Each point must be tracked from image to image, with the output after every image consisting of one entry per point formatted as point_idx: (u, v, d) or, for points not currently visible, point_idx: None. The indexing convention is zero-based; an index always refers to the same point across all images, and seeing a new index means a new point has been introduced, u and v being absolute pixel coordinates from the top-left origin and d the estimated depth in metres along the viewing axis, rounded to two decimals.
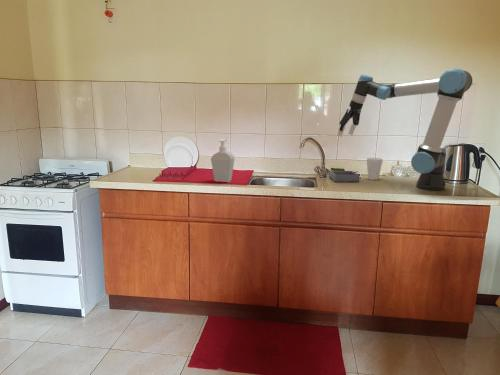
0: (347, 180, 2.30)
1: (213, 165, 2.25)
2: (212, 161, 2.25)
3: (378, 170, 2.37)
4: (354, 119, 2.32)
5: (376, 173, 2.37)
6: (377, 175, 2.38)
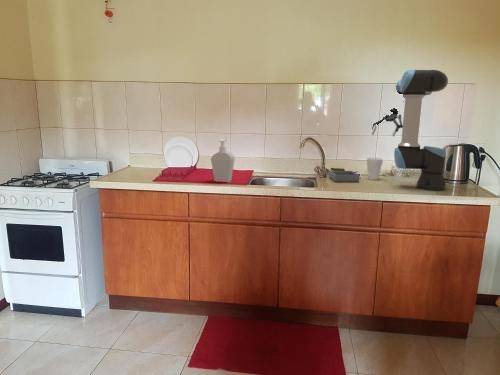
0: (347, 180, 2.30)
1: (213, 165, 2.25)
2: (212, 161, 2.25)
3: (378, 170, 2.37)
4: (394, 122, 2.43)
5: (376, 173, 2.37)
6: (377, 175, 2.38)
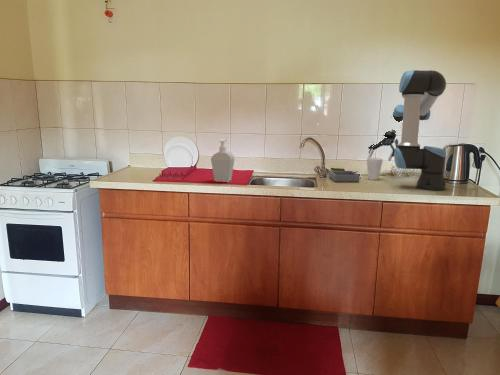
0: (347, 180, 2.30)
1: (213, 165, 2.25)
2: (212, 161, 2.25)
3: (378, 170, 2.37)
4: (391, 147, 2.45)
5: (376, 173, 2.37)
6: (377, 175, 2.38)
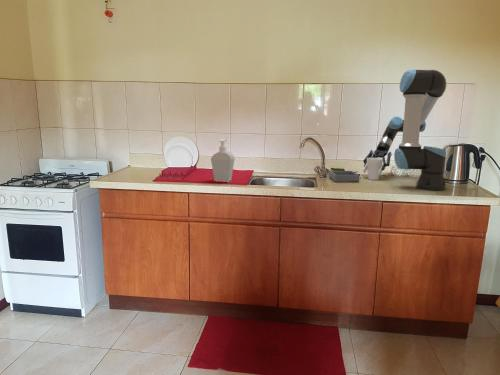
0: (347, 180, 2.30)
1: (213, 165, 2.25)
2: (212, 161, 2.25)
3: (378, 170, 2.37)
4: None
5: (376, 173, 2.37)
6: (377, 175, 2.38)
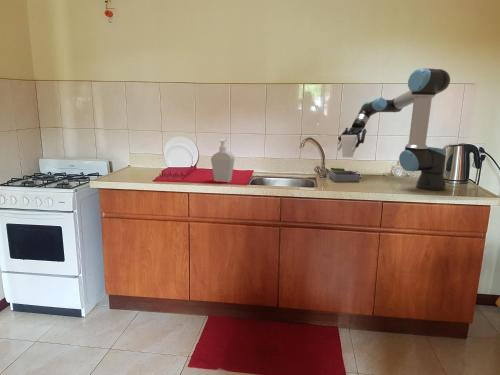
0: (347, 180, 2.30)
1: (213, 165, 2.25)
2: (212, 161, 2.25)
3: (352, 147, 2.31)
4: (357, 137, 2.34)
5: (350, 150, 2.32)
6: (351, 152, 2.32)
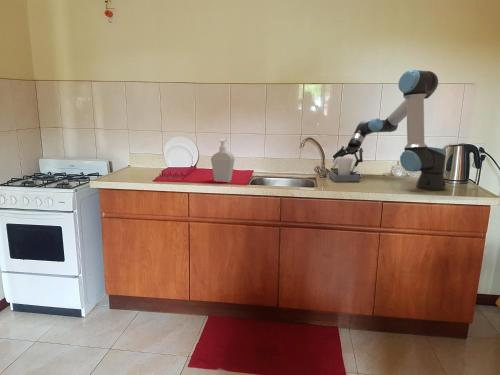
0: (347, 180, 2.30)
1: (213, 165, 2.25)
2: (212, 161, 2.25)
3: (348, 169, 2.33)
4: (355, 156, 2.34)
5: (346, 172, 2.33)
6: (347, 174, 2.34)
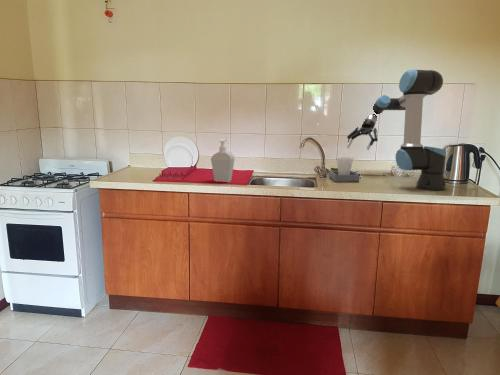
0: (347, 180, 2.30)
1: (213, 165, 2.25)
2: (212, 161, 2.25)
3: (348, 169, 2.33)
4: None
5: (346, 172, 2.33)
6: (347, 174, 2.34)
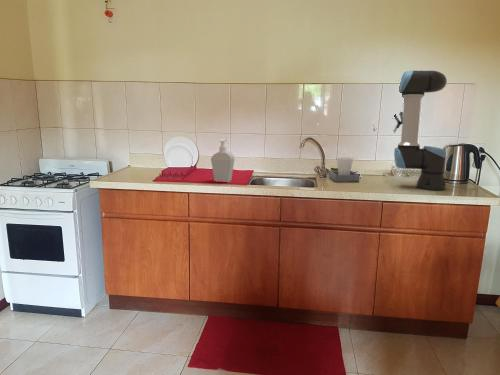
0: (347, 180, 2.30)
1: (213, 165, 2.25)
2: (212, 161, 2.25)
3: (348, 169, 2.33)
4: (396, 119, 2.46)
5: (346, 172, 2.33)
6: (347, 174, 2.34)
